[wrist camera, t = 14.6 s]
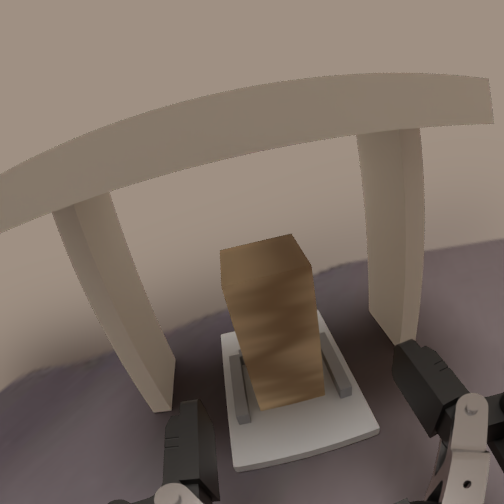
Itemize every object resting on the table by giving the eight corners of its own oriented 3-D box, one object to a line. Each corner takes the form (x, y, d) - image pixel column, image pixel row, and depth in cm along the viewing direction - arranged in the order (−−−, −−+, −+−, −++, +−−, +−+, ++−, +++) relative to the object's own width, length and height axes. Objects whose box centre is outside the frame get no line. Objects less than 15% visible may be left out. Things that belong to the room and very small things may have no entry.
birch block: (260, 411, 19) (221, 286, 15) (253, 367, 23) (219, 250, 19) (324, 395, 19) (311, 265, 15) (309, 353, 23) (291, 233, 19)
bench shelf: (147, 480, 15) (-35, 194, 8) (161, 353, 28) (84, 150, 20) (454, 398, 16) (492, 78, 8) (377, 299, 28) (359, 88, 21)
